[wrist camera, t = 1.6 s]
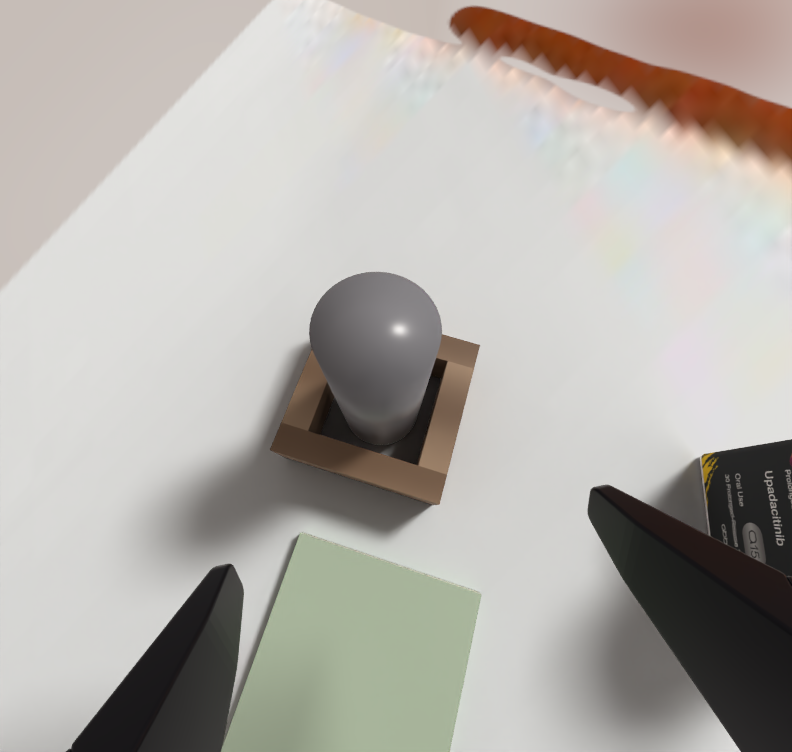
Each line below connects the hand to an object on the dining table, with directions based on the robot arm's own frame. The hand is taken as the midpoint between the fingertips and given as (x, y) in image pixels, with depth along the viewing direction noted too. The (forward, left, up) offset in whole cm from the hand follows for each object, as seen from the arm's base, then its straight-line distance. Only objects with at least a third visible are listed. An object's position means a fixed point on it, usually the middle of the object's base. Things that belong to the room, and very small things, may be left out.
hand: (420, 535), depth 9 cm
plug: (+6, +3, -12) cm, 14 cm away
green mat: (-7, 0, -12) cm, 14 cm away
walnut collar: (+6, +3, -12) cm, 14 cm away
